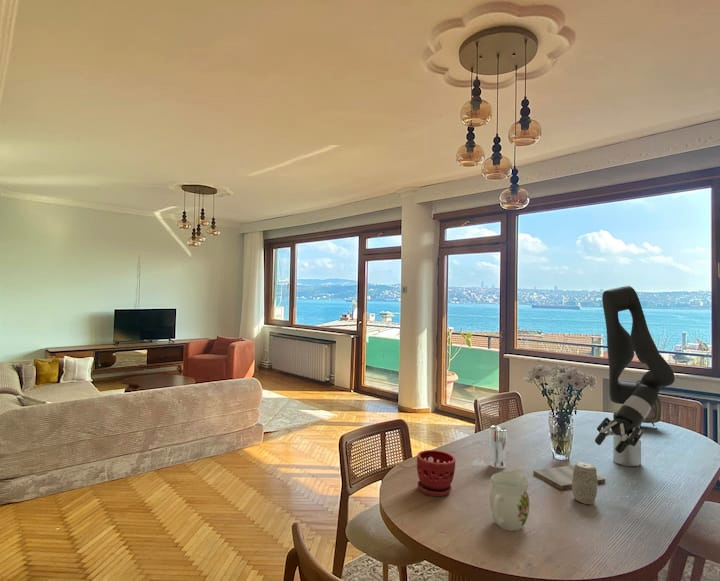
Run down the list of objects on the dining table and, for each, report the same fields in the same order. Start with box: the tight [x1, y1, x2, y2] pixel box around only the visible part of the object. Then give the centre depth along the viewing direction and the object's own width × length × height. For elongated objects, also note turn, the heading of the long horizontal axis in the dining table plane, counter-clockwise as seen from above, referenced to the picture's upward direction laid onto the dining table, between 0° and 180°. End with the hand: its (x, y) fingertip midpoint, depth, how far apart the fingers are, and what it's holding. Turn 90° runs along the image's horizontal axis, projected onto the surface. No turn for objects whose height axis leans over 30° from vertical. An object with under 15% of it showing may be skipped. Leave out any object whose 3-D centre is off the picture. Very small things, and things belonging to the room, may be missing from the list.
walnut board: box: [532, 464, 606, 491], centre depth 160 cm, size 20×14×2 cm
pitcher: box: [489, 469, 530, 532], centre depth 125 cm, size 11×18×14 cm, turn 137°
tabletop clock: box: [635, 379, 662, 427], centre depth 230 cm, size 14×9×25 cm, turn 81°
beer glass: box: [488, 425, 508, 470], centre depth 171 cm, size 7×7×15 cm
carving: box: [571, 461, 599, 505], centre depth 142 cm, size 6×8×12 cm
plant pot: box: [416, 449, 456, 497], centre depth 148 cm, size 13×13×12 cm
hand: (607, 447), depth 146 cm, fingers open, 8 cm apart
